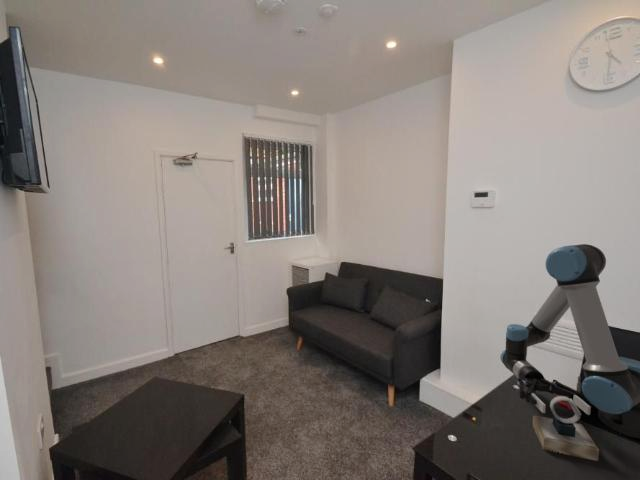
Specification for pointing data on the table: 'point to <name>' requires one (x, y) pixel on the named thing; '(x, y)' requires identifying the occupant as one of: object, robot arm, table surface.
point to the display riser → (565, 439)
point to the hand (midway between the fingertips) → (566, 410)
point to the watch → (565, 423)
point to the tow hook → (576, 390)
